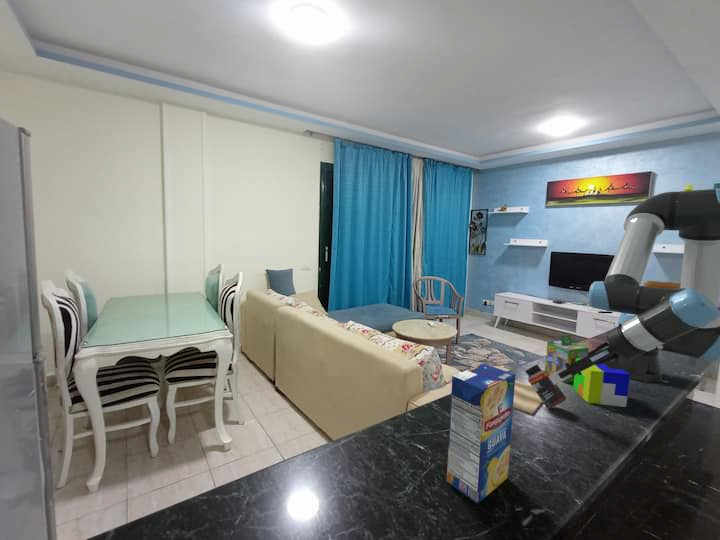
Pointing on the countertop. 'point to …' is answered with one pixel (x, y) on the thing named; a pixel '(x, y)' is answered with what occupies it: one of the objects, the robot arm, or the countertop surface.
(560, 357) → the chalk box
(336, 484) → the countertop surface
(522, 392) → the wooden board
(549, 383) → the supplement bottle
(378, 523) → the countertop surface
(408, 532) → the countertop surface
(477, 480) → the beverage box
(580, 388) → the puzzle toy
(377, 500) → the countertop surface
